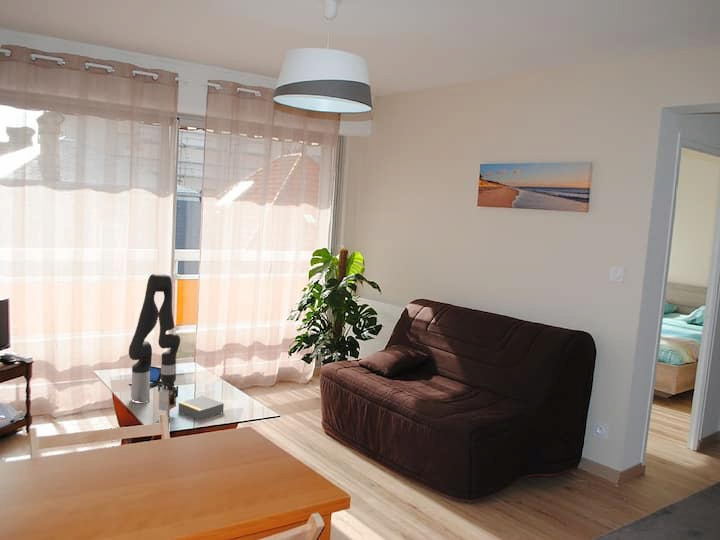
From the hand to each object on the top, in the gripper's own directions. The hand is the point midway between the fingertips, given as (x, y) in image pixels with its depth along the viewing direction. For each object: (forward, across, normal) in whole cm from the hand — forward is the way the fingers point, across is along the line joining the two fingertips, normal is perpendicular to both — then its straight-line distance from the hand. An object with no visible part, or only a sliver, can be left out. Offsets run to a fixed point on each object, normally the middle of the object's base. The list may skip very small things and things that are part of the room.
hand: (167, 402), depth 314 cm
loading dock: (+7, +8, +15) cm, 19 cm away
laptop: (+9, -52, +22) cm, 57 cm away
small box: (+3, 0, 0) cm, 3 cm away
